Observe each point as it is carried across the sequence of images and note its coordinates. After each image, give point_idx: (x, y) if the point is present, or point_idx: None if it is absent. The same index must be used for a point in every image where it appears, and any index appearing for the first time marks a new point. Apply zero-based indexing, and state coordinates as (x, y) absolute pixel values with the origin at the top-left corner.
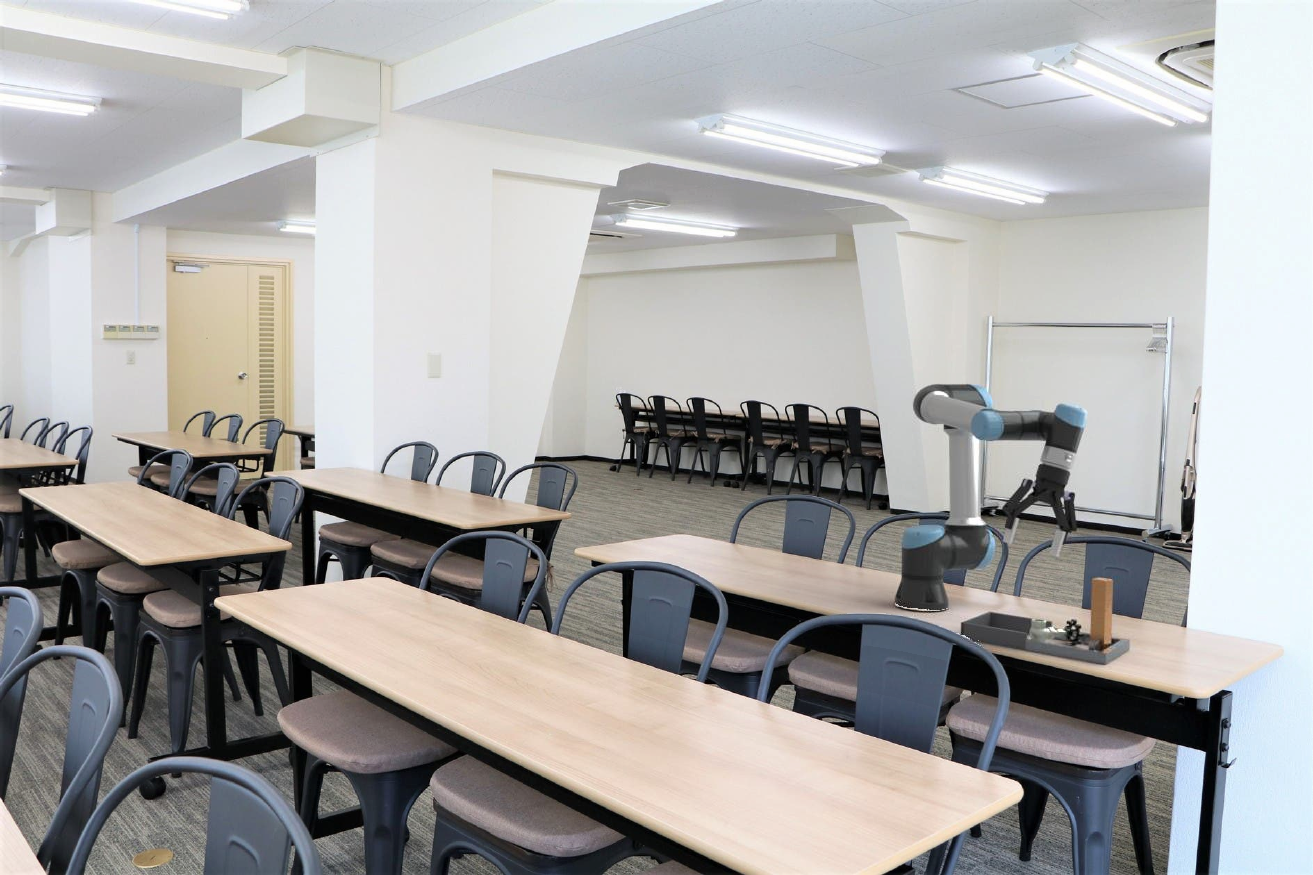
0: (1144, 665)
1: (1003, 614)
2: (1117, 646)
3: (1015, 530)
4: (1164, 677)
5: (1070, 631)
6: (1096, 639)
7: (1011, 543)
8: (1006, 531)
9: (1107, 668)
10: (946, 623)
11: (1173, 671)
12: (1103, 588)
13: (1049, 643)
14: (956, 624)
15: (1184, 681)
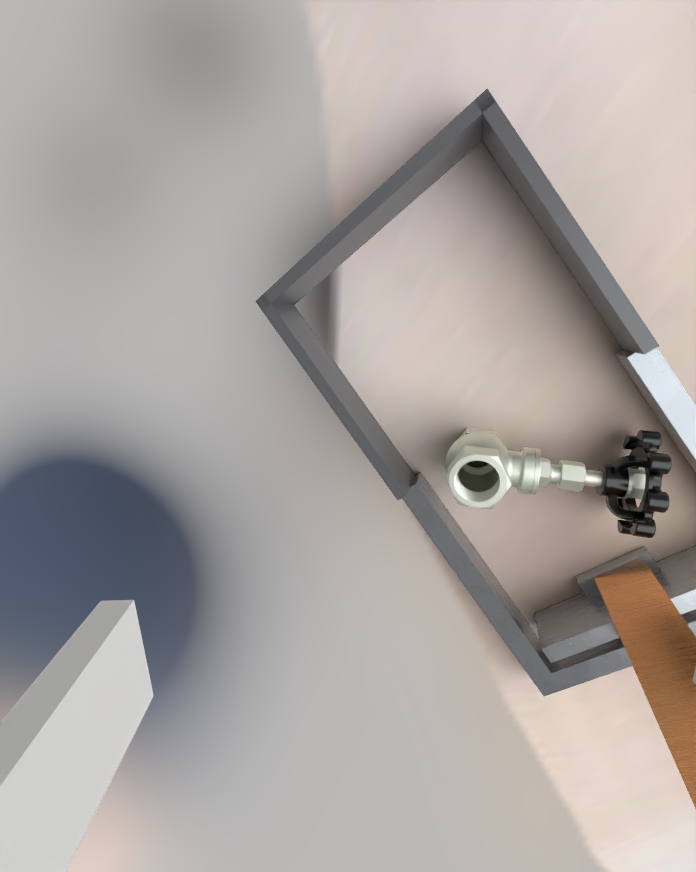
0: None
1: (517, 166)
2: None
3: (64, 869)
4: (606, 802)
5: (607, 502)
6: (600, 633)
7: (147, 699)
8: (25, 711)
9: (514, 696)
10: (335, 44)
11: None
12: None
13: (449, 551)
14: (367, 67)
15: (630, 841)
